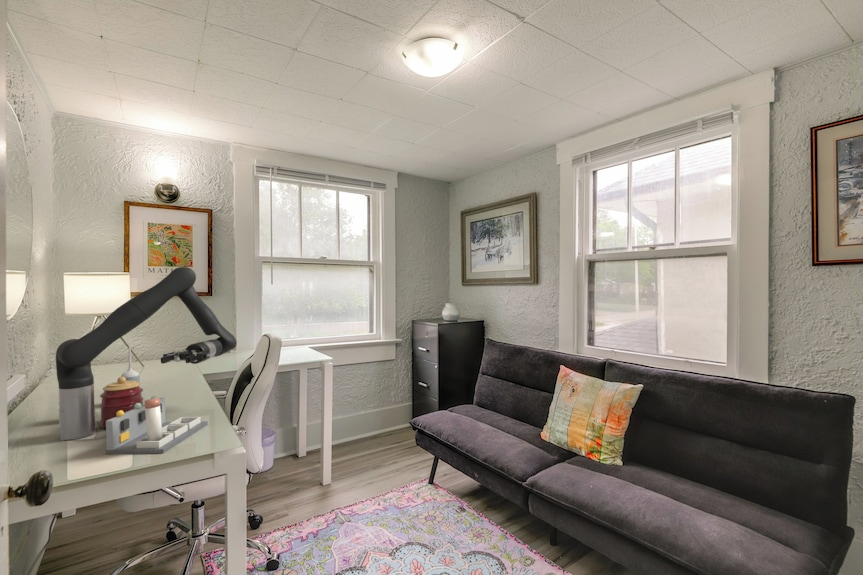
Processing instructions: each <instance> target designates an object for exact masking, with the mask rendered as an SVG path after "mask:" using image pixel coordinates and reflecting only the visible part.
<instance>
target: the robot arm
mask: <svg viewBox="0 0 863 575" xmlns="http://www.w3.org/2000/svg"><path fill="white" fill-rule="evenodd" d="M196 279H197V275H196V272H195V271H194V269H192V268H190V267H186V266H179V267H175V268H174V269H173V270H171V271H170V272H169V274H167V276H165V277H164V278H163V279H162V280H160V281H159V282H158V283H156V284H155V285H153V286H151V287H150V288H148V289H147V290H144V291H143V292H140V293H139V294H137V295H135V296H133V297H132V298H131V299H128V300H127V301H126V302H124V303H123V304H122V305H120V306H118V307H117V308H116V309H114V310H113V312H111V313H110V314H109V315H108V316H107V317H106V318H105V319H104V320H103V322H102V323H101V324H99V325H98V326H97V327H95V328H94V329H93V330H91V331H90V332H89V333H87V334H85V335H83V336H81V337H80V338H73V339H67V340H65V341H63V342H61V344H59V346H58V347H57V349H56V352H55V365H56V368H55V369H56V378H57V383H58V406H59V408H58V422H59V439H60V441H61V442H62V441H69V440H70V441H71V440H77V439H82V438H85V436H86V437H89V436H91V435H93V434H95V433H96V419H95V418H96V416H95V414H96V413H95V410H96V409H95V380H94V378H95V377H94V374H93V372H92V368H91V367H92V364H91V363H92V362H93V361H94V360H95V359H96V358H97V357H98V356H99V355H100V354H102V353H103V351H105V350H106V349H107V348H109V347H110V346H111V345H112V344H113V343H115V342H116V341H118V340H119V339H121V338H122V337H124V336H125V335H127V334H128V333H130V332H131V331H132V330H134V329H136V328H137V327H139V326H140V325H142V324H143V323H144V322H145V321H147V320H148V319H149V318H151V317H152V316H153V315H154V314H156V312H158V311H159V310H160V309H161V308H162V307H163V306H164V305H166V304H167V302H168V301H170V300H171V299H172V298H174V297H175V296H177V297H178V298H179V299H180V300H181V301H182V302H183V304H184V305H185V307H186V308H187V309H188V311H189V312H190V313H191V315H192V316H193V318H194V319H195V321H196V323H197V324H198V326H199V328H200V329H201V331H202V332H203V334H204V335H206V336H213V335H216V336H218V337H217V338H215V339H208V340H203V341H198V342H195V343H192V344H189V345H188V346H186V348H185V349H183V350H181V351H170V352H168V353H164V354H162V357H160V363H161V364H166V363H170V362H175V363H178V362H179V363H180V362H185V364H192V365H197V364H200V363H203V362H206V361H208V360H210V359H212V358H214V357H215V358H216V357H219V356H220V357H221V356H222V355H223V354H226V353H228V352H230V351H232V350H233V349H235V348H236V346H237V344H238V343H237V339H236V338H235V336H234V335H233V334H232V333H231V332H229V330H227V329H226V328H225V327H224V326H223V324H221V322H220V321H219V319H218V318H217V316H216V315H215V313H214V312H213V310H212V308H210V307H209V305H207V304H206V303H205V302H204V301H203V300H202V298H201V297H200V296H199V295H198V293H197V291H196V290H195V287H194V285H195V283H196Z"/></svg>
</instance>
